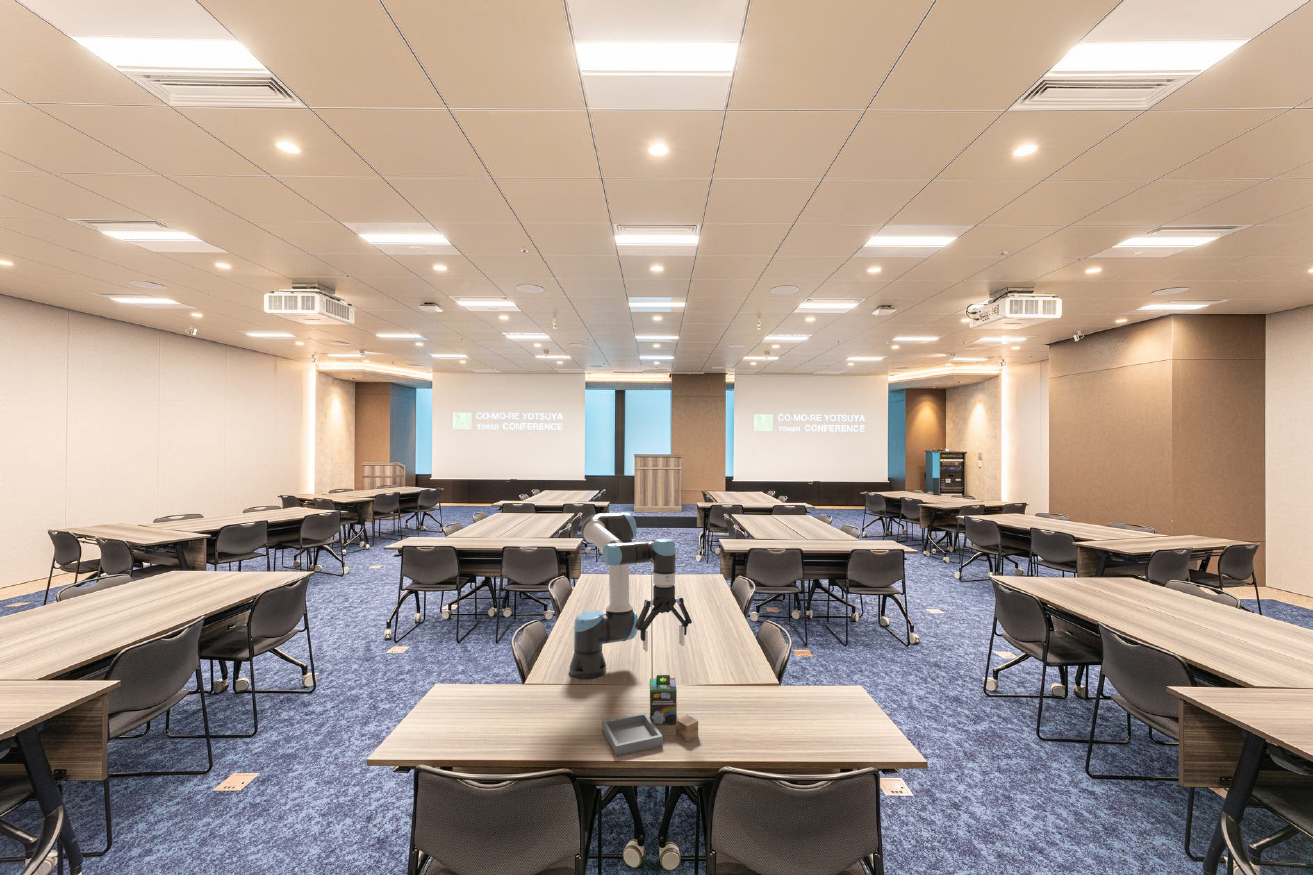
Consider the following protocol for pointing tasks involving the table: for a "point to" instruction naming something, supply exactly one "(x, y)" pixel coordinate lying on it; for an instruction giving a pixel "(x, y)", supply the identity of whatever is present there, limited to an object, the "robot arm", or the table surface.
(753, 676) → the table surface
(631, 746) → the tray
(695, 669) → the table surface
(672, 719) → the chalk box
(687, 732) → the walnut block
